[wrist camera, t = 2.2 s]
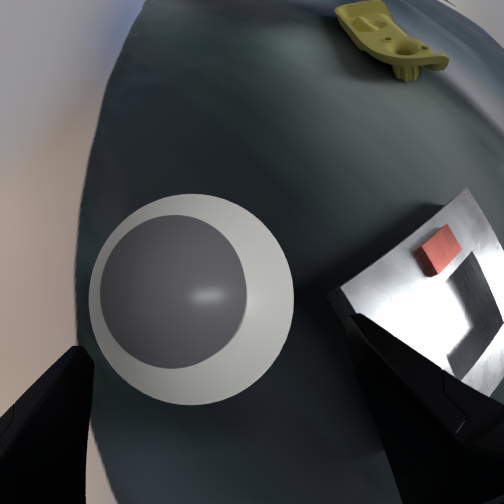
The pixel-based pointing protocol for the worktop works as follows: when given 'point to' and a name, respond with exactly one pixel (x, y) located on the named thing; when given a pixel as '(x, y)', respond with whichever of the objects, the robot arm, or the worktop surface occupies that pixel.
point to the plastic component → (387, 39)
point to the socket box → (439, 293)
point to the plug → (191, 299)
